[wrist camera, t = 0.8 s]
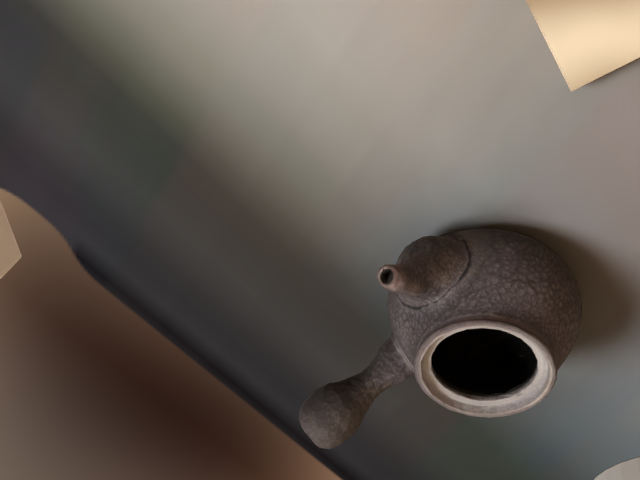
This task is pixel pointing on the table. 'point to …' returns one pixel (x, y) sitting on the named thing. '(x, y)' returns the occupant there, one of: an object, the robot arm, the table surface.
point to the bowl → (622, 471)
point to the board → (589, 35)
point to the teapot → (462, 330)
